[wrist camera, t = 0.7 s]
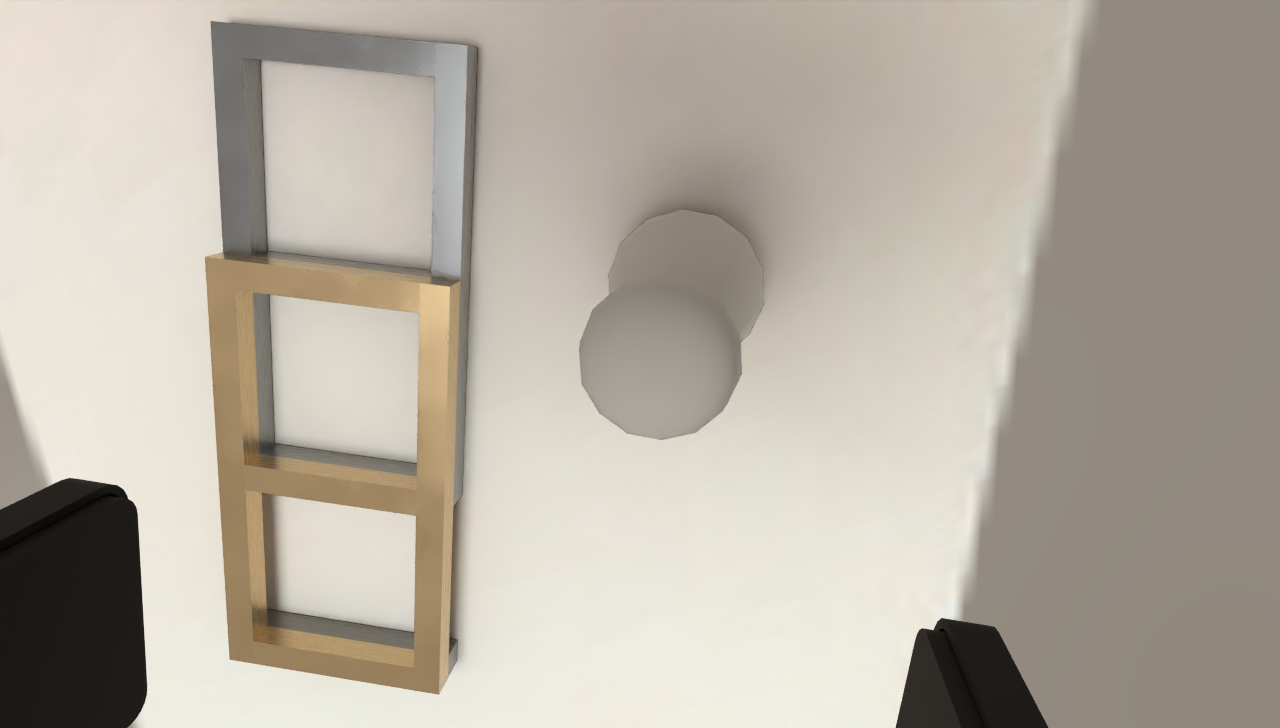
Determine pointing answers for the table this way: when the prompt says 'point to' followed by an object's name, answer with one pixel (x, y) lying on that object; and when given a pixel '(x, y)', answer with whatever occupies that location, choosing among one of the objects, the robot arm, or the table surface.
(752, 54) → the table surface
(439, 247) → the grey rectangular frame
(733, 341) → the salt shaker
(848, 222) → the table surface
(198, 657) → the table surface
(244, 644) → the gold rectangular frame
